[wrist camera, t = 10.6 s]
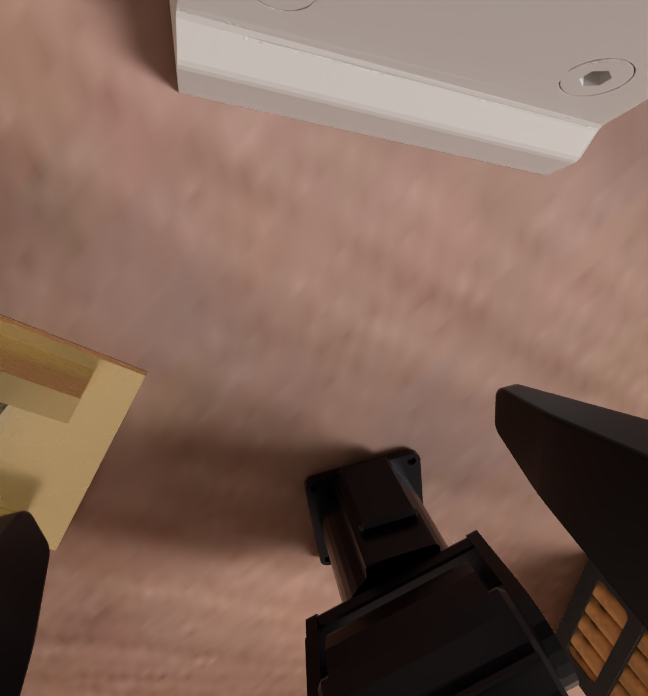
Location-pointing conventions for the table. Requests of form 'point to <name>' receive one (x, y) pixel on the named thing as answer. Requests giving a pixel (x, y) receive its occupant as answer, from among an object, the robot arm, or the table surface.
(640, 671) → the ammunition clip
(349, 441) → the table surface
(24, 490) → the strike pocket
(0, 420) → the bar
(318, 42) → the white rounded housing
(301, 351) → the table surface
